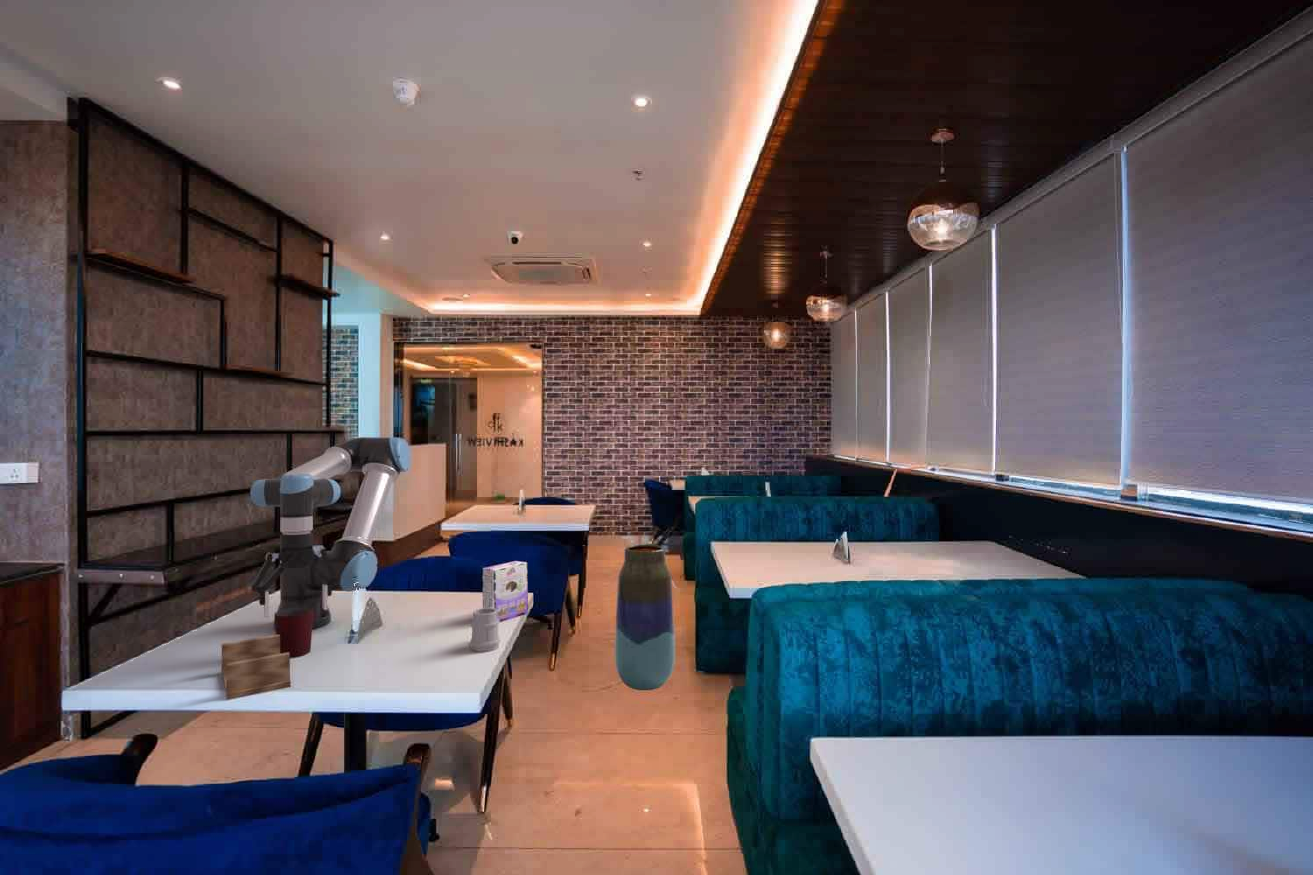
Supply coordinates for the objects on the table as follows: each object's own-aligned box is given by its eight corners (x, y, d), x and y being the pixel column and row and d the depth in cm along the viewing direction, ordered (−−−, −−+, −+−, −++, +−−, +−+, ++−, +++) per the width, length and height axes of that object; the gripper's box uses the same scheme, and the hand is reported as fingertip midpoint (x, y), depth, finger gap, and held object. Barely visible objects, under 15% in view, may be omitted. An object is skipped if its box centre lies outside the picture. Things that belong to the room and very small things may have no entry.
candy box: (516, 610, 208) (515, 560, 208) (528, 613, 205) (528, 562, 204) (481, 620, 197) (481, 567, 197) (494, 623, 193) (494, 569, 193)
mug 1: (293, 644, 175) (292, 603, 175) (325, 643, 175) (325, 603, 175) (267, 659, 163) (267, 616, 163) (302, 659, 163) (302, 616, 163)
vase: (602, 683, 147) (602, 547, 147) (647, 668, 157) (646, 540, 156) (642, 701, 137) (642, 556, 137) (687, 684, 146) (687, 548, 146)
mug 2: (466, 652, 168) (466, 606, 168) (480, 637, 180) (480, 595, 180) (494, 652, 168) (494, 606, 168) (507, 638, 180) (507, 595, 180)
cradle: (278, 661, 162) (278, 633, 162) (290, 686, 146) (290, 655, 146) (221, 672, 154) (221, 642, 154) (227, 699, 138) (227, 666, 138)
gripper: (345, 527, 180) (344, 602, 179) (239, 534, 165) (238, 617, 164) (350, 530, 174) (350, 608, 173) (241, 538, 159) (241, 624, 158)
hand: (296, 612), depth 169 cm, fingers open, 13 cm apart
